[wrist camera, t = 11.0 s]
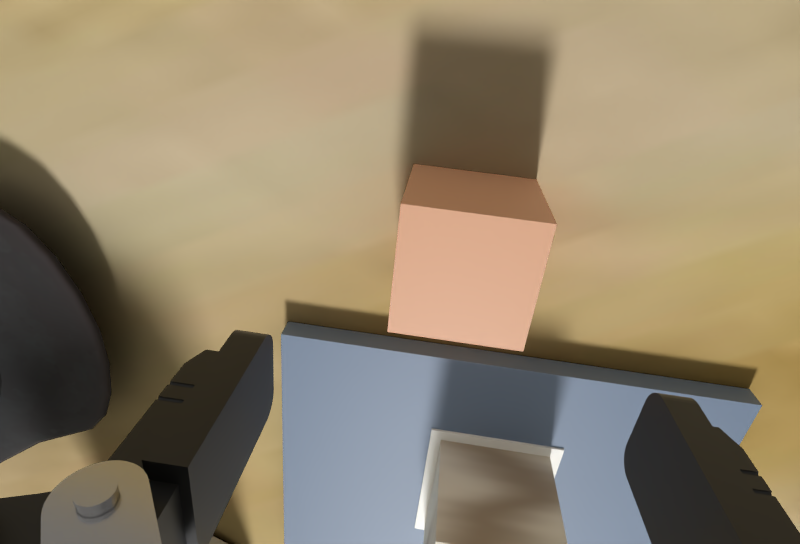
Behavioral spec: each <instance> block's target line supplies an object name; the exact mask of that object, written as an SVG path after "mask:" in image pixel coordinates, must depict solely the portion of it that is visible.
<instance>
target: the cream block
mask: <svg viewBox="0 0 800 544" xmlns="http://www.w3.org/2000/svg"><path fill="white" fill-rule="evenodd" d="M423 544H567V539H566V534H565V529H564V524H563V519H562V514H561V509H560V504H559V499H558V494H557V489H556V484H555V479H554V474H553V469H552V464H551V459H550V457H547V456H541V455H534V454H528V453H522V452H515V451H509V450H503V449H496V448H490V447H483V446H477V445H471V444H464V443H458V442H452V441H445V440H441V441H440V446H439V452H438V457H437V462H436V467H435V473H434V478H433V483H432V488H431V494H430V499H429V504H428V509H427V515H426V520H425V527H424V541H423Z"/></svg>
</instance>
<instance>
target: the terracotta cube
mask: <svg viewBox="0 0 800 544" xmlns="http://www.w3.org/2000/svg"><path fill="white" fill-rule="evenodd" d="M556 226H557V223H556V221H555V219H554V217H553V214H552V212H551V210H550V208H549V206H548V204H547V201H546V199H545V197H544V195H543V193H542V191H541V188H540V186H539V184H538V182H537V180H536V179H529V178H521V177H514V176H506V175H498V174H490V173H482V172H474V171H467V170H459V169H451V168H443V167H435V166H428V165H420V164H413V168H412V171H411V174H410V177H409V180H408V183H407V186H406V189H405V192H404V195H403V198H402V201H401V206H400V216H399V225H398V235H397V244H396V254H395V263H394V273H393V282H392V292H391V301H390V311H389V320H388V330H387V332H392V333H399V334H406V335H413V336H420V337H426V338H433V339H440V340H447V341H454V342H461V343H468V344H474V345H481V346H488V347H495V348H502V349H509V350H516V351H522V352H523V351H524V347H525V343H526V339H527V336H528V332H529V328H530V324H531V321H532V317H533V313H534V309H535V306H536V302H537V298H538V294H539V291H540V287H541V283H542V279H543V275H544V272H545V268H546V264H547V260H548V257H549V253H550V249H551V245H552V242H553V238H554V234H555V230H556Z"/></svg>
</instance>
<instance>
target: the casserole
mask: <svg viewBox="0 0 800 544" xmlns="http://www.w3.org/2000/svg"><path fill="white" fill-rule="evenodd" d="M110 397H111V378H110V364H109V360H108V357H107V353H106V350H105V346H104V342H103V339H102V335H101V332H100V329H99V327H98V325H97V323H96V321H95V319H94V317H93V315H92V313H91V311H90V309H89V307H88V305H87V303H86V301H85V299H84V297H83V295H82V293H81V292H80V290H79V289H78V287H77V286H76V284H75V283H74V282H73V280H72V279H71V277H70V276H69V274H68V273H67V272H66V270H65V269H64V267H63V266H62V265H61V263H60V262H59V260H58V259H57V257H56V256H55V255H54V254H53V253H52V252H51V251H50V250H49V249H48V248H47V247H46V246H45V245H44V244H43V243H42V241H41V240H40V239H39V238H38V237H37V236H36V235H35V234H34V233H33V232H32V231H31V230H30V229H29V228H28V227H27V226H26V225H25V224H23V223H22V222H20V221H19V220H17V219H16V218H14V217H13V216H11V215H10V214H8V213H7V212H5V211H4V210H2V209H1V208H0V463H1V462H3V461H5V460H7V459H9V458H11V457H13V456H15V455H17V454H18V453H20V452H22V451H24V450H26V449H28V448H30V447H32V446H34V445H36V444H37V443H39V442H43V441H47V440H51V439H55V438H59V437H63V436H66V435H70V434H74V433H78V432H82V431H86V430H90V429H93V427H94V426H95V425H96V424H97V423H98V422H99V421H100V420H101V419H102V418H103V417H104V416H105V415H106V413H107V409H108V405H109V401H110Z"/></svg>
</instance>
